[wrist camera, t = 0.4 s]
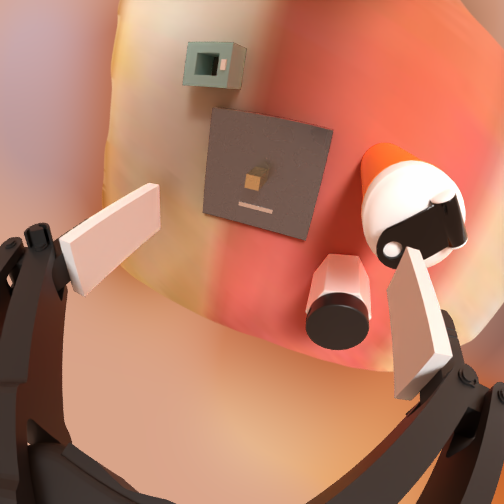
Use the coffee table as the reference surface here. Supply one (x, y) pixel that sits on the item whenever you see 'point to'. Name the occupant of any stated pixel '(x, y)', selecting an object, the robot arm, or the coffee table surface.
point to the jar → (339, 303)
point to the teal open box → (202, 64)
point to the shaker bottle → (409, 207)
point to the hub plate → (270, 152)
